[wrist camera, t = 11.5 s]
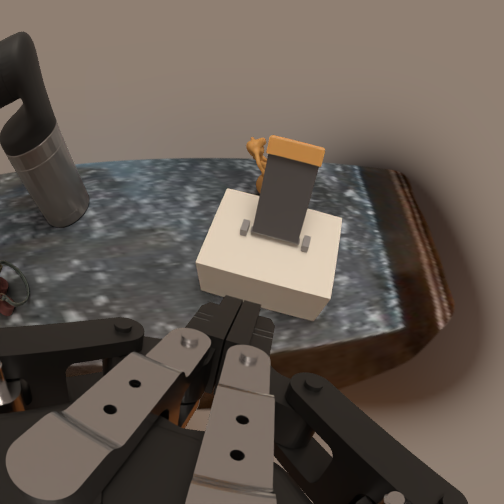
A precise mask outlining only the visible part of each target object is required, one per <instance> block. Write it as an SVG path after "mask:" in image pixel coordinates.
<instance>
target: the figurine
mask: <svg viewBox="0 0 504 504" xmlns="http://www.w3.org/2000/svg"><path fill="white" fill-rule="evenodd" d="M265 144H266V139H265V138H260V139H257V140H255V139H254V138H253V137H251V141H249V142H248V143H247V150H248V152H249V153H250V155H252V156H253V158H254V159H255V160H256V163H257V165H258V167H259V169H260V170H261V172H262V175H260V176H259V177H258V179H257V181H256V188H257V190H258V192H259V193H260V191H261V187H262V182H263V177H264V172H265V168H266V163H267V159H266V158H265V157H264V156H263V153H264V147H263V146H264V145H265Z"/></svg>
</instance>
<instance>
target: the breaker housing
mask: <svg viewBox="0 0 504 504" xmlns="http://www.w3.org/2000/svg"><path fill="white" fill-rule="evenodd" d="M258 201H259V196H257V195H253V194H249V193H245V192H241V191H236V190H232V189H228V188H227V190H226V193H225V195H224V197H223V199H222V202H221V204H220V206H219V208H218V211H217V213H216V215H215V218H214V220H213V222H212V225H211V227H210V229H209V232H208V234H207V236H206V239H205V241H204V243H203V246H202V248H201V251H200V253H199V255H198V258H197V260H196V267H197V272H198V277H199V282H200V288H201V291H205V292H208V293H212V294H215V295H218V296H222V297H225V295H228V296H232V297H235V298H239V299H243V302H244V300H246V301H250V302H254V303H257V304H261V308H265V309H268V310H272V311H276V312H279V313H283V314H287V315H291V316H295V317H299V318H303V319H306V320H310V321H314V320H315V319H316V318H317V316H318V315H319V314H320V312H321V311H322V310H323V308H324V307H325V306H326V304H327V303H328V302H329V300H330V298H331V292H332V286H333V280H334V274H335V267H336V260H337V253H338V246H339V239H340V231H341V223H342V218H339V217H336V216H332V215H329V214H325V213H321V212H318V211H314V210H311V209H307V212H306V216H305V219H304V223H303V226H302V230H301V233H300V237H299V238H300V243H299V245H297V244H293V243H290V242H286V241H282V240H279V239H275V238H271V237H267V236H263V235H260V234H256V233H252V232H251V227H252V226H253V224H254V220H255V215H256V210H257V205H258Z"/></svg>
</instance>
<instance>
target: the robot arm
mask: <svg viewBox="0 0 504 504" xmlns="http://www.w3.org/2000/svg"><path fill="white" fill-rule="evenodd" d="M19 98H21V99H22V101H23V105H22V106H21V107H20V109H19V110H18V111H17V112H16V113H15V114H14V115H13V116H12V117H11V118H10V119H9V120H8V121H7V123H6V124H5V125H4V127H3V129H2V130H1V133H0V144H1V146H2V148H3V150H4V152H5V153H6V155H7V157H8V159H9V160H10V162H11V164H12V166H13V167H14V169H15V171H16V173H17V174H18V176H19V178H20V179H21V181H22V183H23V184H24V186H25V187H26V189H27V191H28V192H29V194H30V195H31V197H32V199H33V200H34V202H35V203H36V205H37V206H38V208H39V209H40V211H41V212H42V214H43V215H44V217H45V218H46V220H47V221H48V223H49V224H50V225H52V226H54V227H65V226H68V225H70V224H72V223H74V222H75V221H77V220H78V219H79V218H80V217H81V216H82V215H83V214H84V213H85V211H86V209H87V207H88V204H89V195H88V193H87V191H86V189H85V186H84V184H83V182H82V180H81V177H80V175H79V173H78V171H77V169H76V166H75V164H74V162H73V160H72V157H71V155H70V153H69V150H68V148H67V145H66V143H65V141H64V138H63V136H62V134H61V131H60V129H59V126H58V123H57V121H56V118H55V116H54V113H53V110H52V107H51V104H50V101H49V98H48V95H47V92H46V89H45V86H44V82H43V78H42V74H41V70H40V66H39V61H38V57H37V53H36V49H35V46H34V43H33V41H32V39H31V37H30V36H29V35H28V34H27V33H25V32H18V33H16V34H14V35H12V36H10V37H7V38H5V39H4V40H2V41H0V108H2V107H4V106H5V105H8V104H10V103H12V102H14V101H15V100H17V99H19ZM242 303H243V304H242ZM260 308H261V304H257V303H254V302H250V301H246V300H244V302H243V299H239V298H235V297H232V296H228V295H225V297H224V298H223V300H222V302H221V303H220V305H218V304H215V303H211V302H210V303H207V304H205V305H202V306H201V307H200V309H199V310H198V312H197V313H196V314H195V315H194V317H193V318H192V319H191V320H190V322H189V323H188V324H187V326H186V327H185V328H178V329H174V330H172V331H171V332H170V333H169V334H168V335H167V336H165V337H164V338H163V339H158V338H151V337H145V336H144V328H143V326H142V325H141V324H140V323H138V322H136V321H134V320H132V319H128V318H122V317H117V318H108V319H98V320H89V321H79V322H69V323H58V324H47V325H35V326H21V327H7V328H0V504H313V503H314V504H468V502H467V500H466V498H465V496H464V495H463V494H462V493H461V492H460V491H459V490H457V489H456V488H455V487H454V486H452V485H451V484H450V483H448V482H447V481H446V480H445V479H443V478H442V477H441V476H440V475H438V474H437V473H436V472H434V471H433V470H432V469H431V468H430V467H428V466H427V465H426V464H425V463H423V462H422V461H421V460H420V459H418V458H417V457H416V456H415V455H413V454H412V453H411V452H410V451H409V450H407V449H406V448H405V447H404V446H403V445H401V444H400V443H399V442H398V441H396V440H395V439H394V438H393V437H392V436H391V435H389V434H388V433H387V432H386V431H385V430H384V429H382V428H381V427H380V426H379V425H378V424H377V423H375V422H374V421H373V420H372V419H370V417H368V416H367V415H366V414H365V413H364V412H363V411H362V410H360V409H359V408H358V407H357V406H356V405H355V404H354V403H352V402H351V401H350V400H349V399H348V398H347V397H346V396H344V395H343V394H342V393H341V392H340V391H339V390H338V389H337V388H336V387H334V386H333V385H332V384H331V383H330V382H329V381H328V380H326V379H325V378H323V377H321V376H319V375H316V374H312V373H298V374H296V375H294V376H293V377H292V378H291V379H289V378H287V377H284V376H282V375H281V374H279V373H277V372H276V371H275V370H274V369H273V368H272V367H271V365H270V358H269V356H270V350H271V345H272V339H273V333H274V328H275V325H274V324H273V322H272V320H271V319H269V318H265V317H261V316H258V315H259V312H260ZM99 359H102V363H103V372H98V373H92V374H86V375H80V376H74V377H66V375H65V372H66V369H67V368H68V367H69V366H70V365H71V364H74V363H80V362H86V361H93V360H99ZM214 386H215V389H214ZM213 389H214V393H213V394H214V395H215V397H214V401H213V404H212V408H211V412H210V416H209V419H208V423H207V426H206V430H205V431H197V430H189V429H185V427H186V426H187V424H188V422H189V421H190V419H191V417H192V416H193V414H194V412H195V411H196V409H197V407H198V405H199V400H200V398H201V397H202V395H203V393H204V392H207V393H212V391H213ZM315 432H316V433H317V434H318V435H319V436H320V437H321V438H322V439H323V440H324V441H325V442H326V443H327V444H328V445H329V447H330V448H331V450H332V454H333V458H332V457H331V456H330V455H329V454H328V452H327V451H325V449H324V448H323V447H322V446H321V445H320V444H319V443H318V442H317V441H316V440H315V439H314V438H313V437H312V436H313V435H314V433H315ZM274 456H275V458H277V460H278V461H279V462H280V464H281V465H282V466H283V468H284V469H285V470H286V471H287V472H288V473H287V472H286V471H285V470H284V469H283V468H281V467H280V466H279V465H278V464H276V463H275V462H273V457H274ZM301 489H302V490H303V491H302V490H301ZM304 493H305V494H306V495H307V496H308V497H309V498H310V500H311V501H312V502H313V503H312V502H311V501H310V500H309V498H308V497H307V496H306V495H305V494H304Z"/></svg>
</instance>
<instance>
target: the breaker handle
mask: <svg viewBox="0 0 504 504" xmlns="http://www.w3.org/2000/svg"><path fill="white" fill-rule="evenodd" d="M267 153H269V154H268V158H267V163H266V168H265V172H264V177H263V182H262V187H261V191H260V196H259V201H258V205H257V210H256V215H255V220H254V224H253V226H252V227H251V232H252V233H256V234H260V235H263V236H267V237H271V238H275V239H279V240H282V241H286V242H290V243H293V244H297V245H299V243H300V238H299V237H300V233H301V230H302V226H303V223H304V219H305V216H306V212H307V209H308V205H309V201H310V198H311V194H312V190H313V187H314V183H315V179H316V176H317V172H318V168H319V166H320V167H321V165H322V161H323V157H324V153H325V148H322V147H318V146H315V145H311V144H307V143H303V142H299V141H295V140H291V139H287V138H283V137H279V136H274V135H272V136H270V138H269V143H268V148H267Z"/></svg>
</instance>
